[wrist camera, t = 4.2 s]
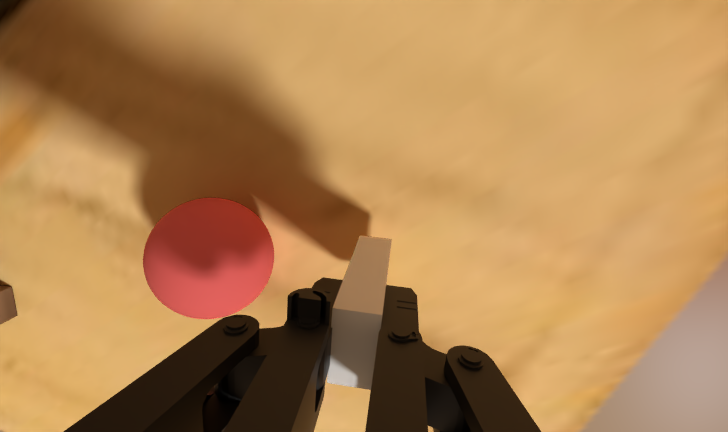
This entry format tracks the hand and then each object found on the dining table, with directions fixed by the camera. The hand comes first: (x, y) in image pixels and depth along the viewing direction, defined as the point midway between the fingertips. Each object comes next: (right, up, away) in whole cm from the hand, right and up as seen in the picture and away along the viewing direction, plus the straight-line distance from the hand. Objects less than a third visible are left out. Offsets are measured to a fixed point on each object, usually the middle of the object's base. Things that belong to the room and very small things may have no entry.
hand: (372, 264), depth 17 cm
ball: (-7, 0, 0) cm, 7 cm away
